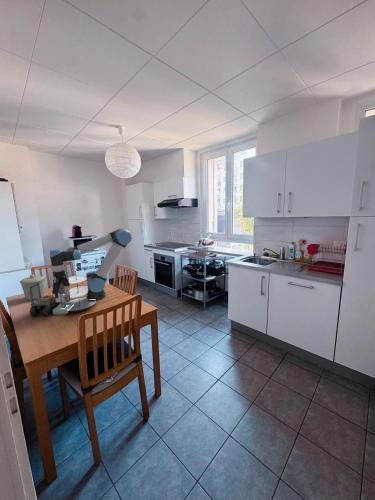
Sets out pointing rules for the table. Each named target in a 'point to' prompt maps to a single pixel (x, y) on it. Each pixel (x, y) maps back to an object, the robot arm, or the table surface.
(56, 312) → the tray
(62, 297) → the pin
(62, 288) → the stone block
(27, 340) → the table surface
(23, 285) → the canister
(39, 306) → the trolley
